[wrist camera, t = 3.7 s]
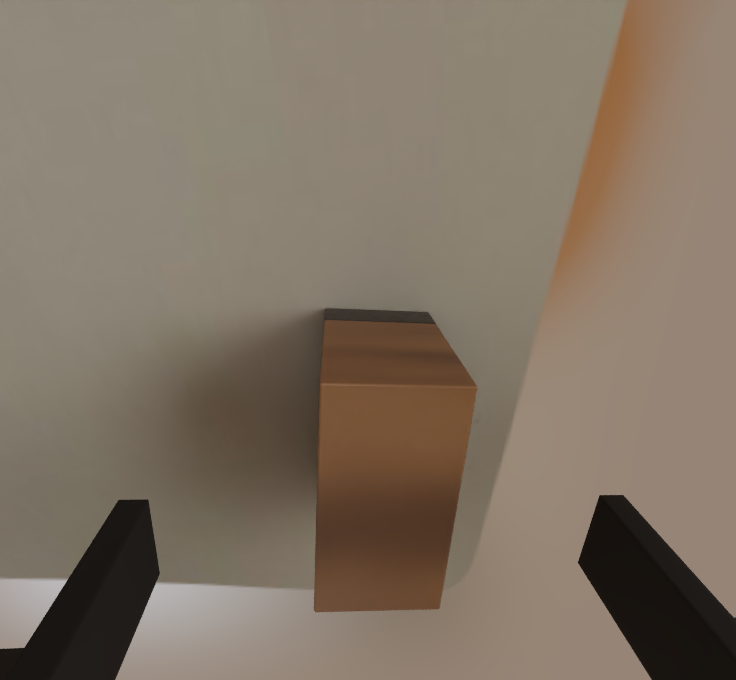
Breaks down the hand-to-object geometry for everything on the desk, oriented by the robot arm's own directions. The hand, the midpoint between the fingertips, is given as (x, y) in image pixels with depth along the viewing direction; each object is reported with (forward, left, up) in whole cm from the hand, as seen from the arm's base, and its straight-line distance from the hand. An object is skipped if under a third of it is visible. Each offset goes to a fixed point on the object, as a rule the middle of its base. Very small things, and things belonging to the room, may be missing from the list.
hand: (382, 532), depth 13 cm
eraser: (0, 0, -8) cm, 8 cm away
